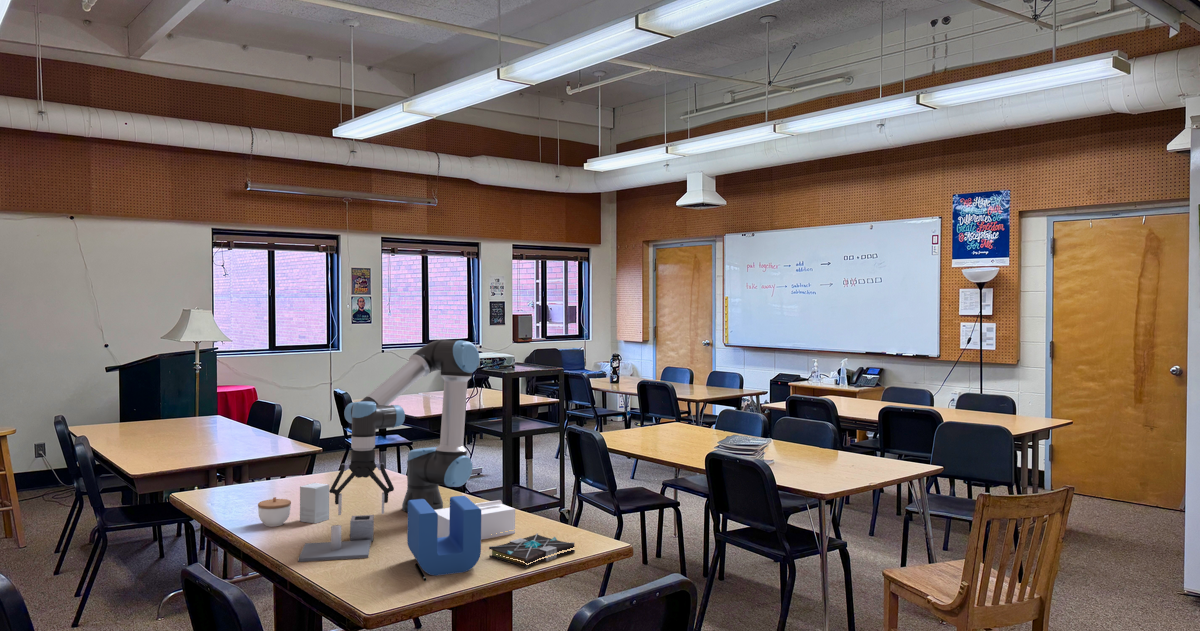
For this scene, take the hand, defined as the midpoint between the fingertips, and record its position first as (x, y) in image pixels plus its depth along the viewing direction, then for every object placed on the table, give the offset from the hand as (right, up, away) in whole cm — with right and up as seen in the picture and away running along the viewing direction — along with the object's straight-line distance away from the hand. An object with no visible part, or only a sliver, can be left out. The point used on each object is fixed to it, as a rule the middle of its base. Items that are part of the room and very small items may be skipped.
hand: (361, 513), depth 259 cm
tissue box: (+35, -10, +8) cm, 37 cm away
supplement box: (-24, -9, +23) cm, 35 cm away
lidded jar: (-36, -8, +17) cm, 41 cm away
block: (+32, -9, -25) cm, 41 cm away
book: (+57, -10, -14) cm, 60 cm away
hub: (0, -9, 0) cm, 9 cm away
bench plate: (-4, -8, -14) cm, 17 cm away
